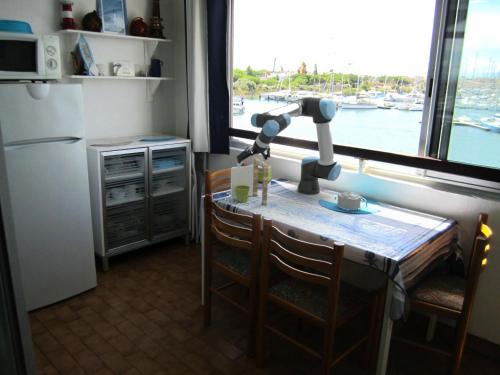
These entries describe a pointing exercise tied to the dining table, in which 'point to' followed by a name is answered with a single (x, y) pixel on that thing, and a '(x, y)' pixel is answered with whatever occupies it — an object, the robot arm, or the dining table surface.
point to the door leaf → (241, 179)
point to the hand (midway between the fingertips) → (249, 164)
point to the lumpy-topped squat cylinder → (349, 200)
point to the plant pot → (242, 193)
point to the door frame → (265, 180)
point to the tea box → (260, 176)
